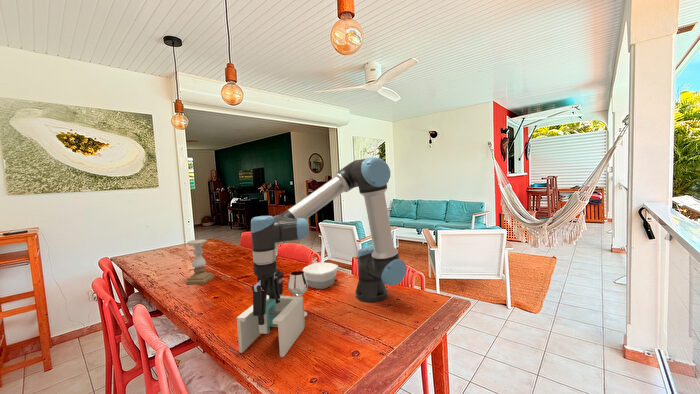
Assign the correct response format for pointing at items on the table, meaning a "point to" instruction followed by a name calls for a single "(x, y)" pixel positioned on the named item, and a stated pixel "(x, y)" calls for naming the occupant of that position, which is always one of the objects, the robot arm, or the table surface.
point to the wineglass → (298, 284)
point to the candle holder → (199, 265)
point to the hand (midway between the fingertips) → (269, 326)
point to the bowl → (320, 274)
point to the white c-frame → (286, 320)
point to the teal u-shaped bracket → (270, 306)
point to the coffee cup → (280, 281)
